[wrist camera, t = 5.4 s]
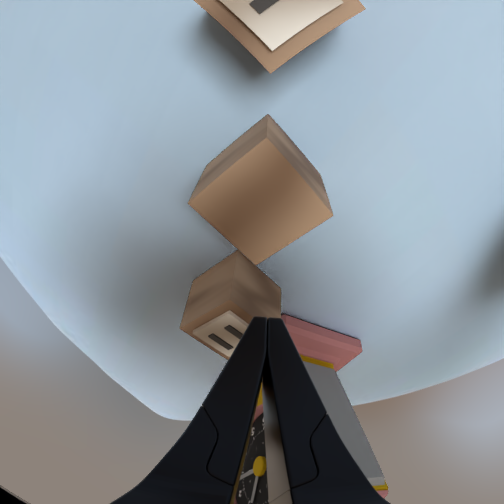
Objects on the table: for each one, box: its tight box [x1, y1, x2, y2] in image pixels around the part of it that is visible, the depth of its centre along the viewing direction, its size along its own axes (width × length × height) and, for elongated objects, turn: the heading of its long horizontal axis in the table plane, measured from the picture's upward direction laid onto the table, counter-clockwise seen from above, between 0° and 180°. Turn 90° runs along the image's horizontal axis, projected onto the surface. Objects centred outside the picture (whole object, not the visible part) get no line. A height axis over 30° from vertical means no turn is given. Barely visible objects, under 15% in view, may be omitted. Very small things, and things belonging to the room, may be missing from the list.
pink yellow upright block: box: [234, 314, 388, 504], centre depth 24 cm, size 22×9×22 cm, turn 154°
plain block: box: [188, 114, 333, 265], centre depth 17 cm, size 5×5×5 cm
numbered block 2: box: [180, 250, 281, 360], centre depth 23 cm, size 5×5×5 cm
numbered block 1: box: [194, 0, 366, 74], centre depth 10 cm, size 5×5×5 cm
